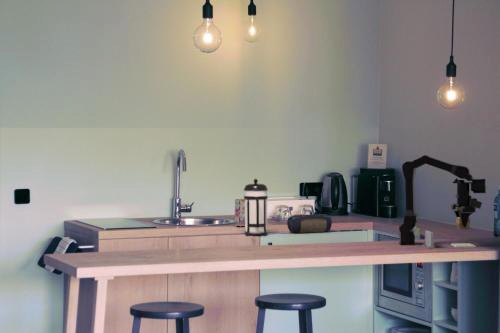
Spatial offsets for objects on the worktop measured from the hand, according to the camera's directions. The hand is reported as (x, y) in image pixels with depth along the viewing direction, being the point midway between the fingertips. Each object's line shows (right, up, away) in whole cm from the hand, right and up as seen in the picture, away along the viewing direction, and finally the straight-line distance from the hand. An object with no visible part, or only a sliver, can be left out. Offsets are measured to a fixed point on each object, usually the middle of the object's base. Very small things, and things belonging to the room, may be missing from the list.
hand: (463, 226), depth 379 cm
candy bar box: (-103, -8, +99) cm, 143 cm away
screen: (-16, -10, 0) cm, 18 cm away
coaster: (0, -9, 0) cm, 9 cm away
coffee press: (-96, -9, +52) cm, 110 cm away
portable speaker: (-67, -9, +64) cm, 93 cm away
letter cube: (0, -1, 0) cm, 1 cm away
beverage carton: (-17, -9, +42) cm, 46 cm away
